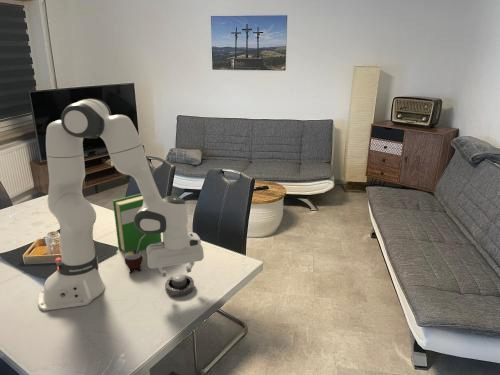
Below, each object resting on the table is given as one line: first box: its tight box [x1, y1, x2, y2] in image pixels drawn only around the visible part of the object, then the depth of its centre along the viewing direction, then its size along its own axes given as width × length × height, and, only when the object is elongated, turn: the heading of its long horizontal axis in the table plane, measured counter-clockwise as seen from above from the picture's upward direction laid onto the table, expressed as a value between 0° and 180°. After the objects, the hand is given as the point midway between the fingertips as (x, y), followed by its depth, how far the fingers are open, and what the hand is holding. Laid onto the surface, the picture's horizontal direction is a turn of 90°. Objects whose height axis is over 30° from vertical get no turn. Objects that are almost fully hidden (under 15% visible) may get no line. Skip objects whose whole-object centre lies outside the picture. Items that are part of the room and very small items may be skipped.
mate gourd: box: [124, 234, 146, 274], centre depth 154 cm, size 8×8×15 cm
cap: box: [171, 273, 187, 289], centre depth 143 cm, size 6×6×4 cm
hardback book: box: [112, 193, 163, 255], centre depth 171 cm, size 18×7×24 cm, turn 131°
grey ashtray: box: [164, 274, 195, 298], centre depth 144 cm, size 10×10×3 cm
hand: (176, 273), depth 141 cm, fingers open, 8 cm apart
